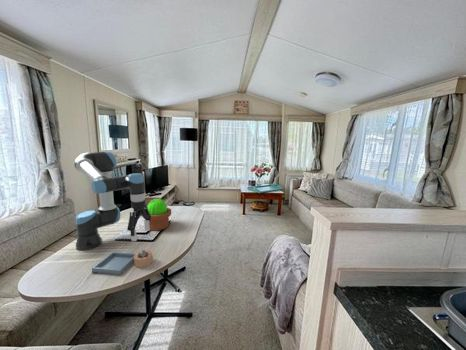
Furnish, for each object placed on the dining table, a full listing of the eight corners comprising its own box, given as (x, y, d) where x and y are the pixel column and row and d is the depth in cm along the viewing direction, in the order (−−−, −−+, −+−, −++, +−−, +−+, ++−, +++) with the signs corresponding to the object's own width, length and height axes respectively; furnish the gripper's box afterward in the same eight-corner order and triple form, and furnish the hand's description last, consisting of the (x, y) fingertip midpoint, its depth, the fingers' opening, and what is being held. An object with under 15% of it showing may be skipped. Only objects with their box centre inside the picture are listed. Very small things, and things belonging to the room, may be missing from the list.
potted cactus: (175, 222, 186) (174, 195, 182) (163, 233, 165) (162, 203, 160) (153, 220, 190) (151, 194, 185) (138, 230, 168) (136, 201, 164)
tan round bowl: (140, 257, 130) (140, 250, 130) (155, 258, 129) (154, 251, 128) (131, 266, 121) (130, 258, 120) (146, 268, 120) (146, 260, 119)
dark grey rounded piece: (140, 257, 131) (139, 247, 129) (155, 259, 130) (154, 248, 128) (131, 267, 121) (130, 255, 120) (147, 269, 120) (146, 257, 118)
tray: (113, 256, 133) (112, 251, 132) (138, 258, 131) (137, 253, 130) (92, 272, 116) (91, 268, 116) (120, 275, 114) (119, 270, 113)
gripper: (144, 194, 131) (146, 226, 135) (117, 207, 107) (121, 245, 111) (155, 195, 130) (157, 226, 134) (130, 207, 106) (134, 246, 110)
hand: (141, 235), depth 122 cm, fingers open, 13 cm apart
